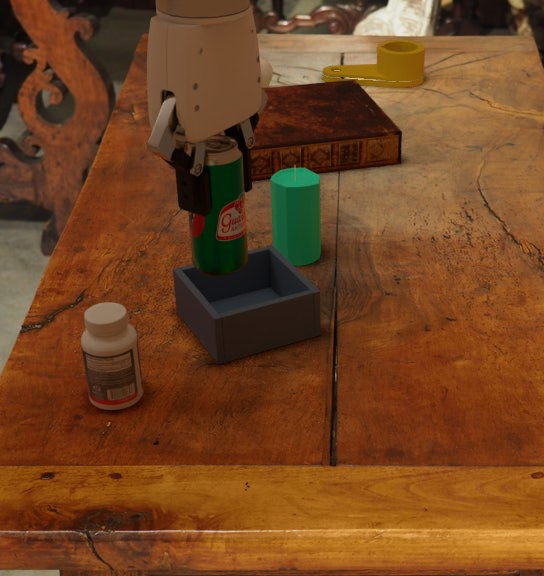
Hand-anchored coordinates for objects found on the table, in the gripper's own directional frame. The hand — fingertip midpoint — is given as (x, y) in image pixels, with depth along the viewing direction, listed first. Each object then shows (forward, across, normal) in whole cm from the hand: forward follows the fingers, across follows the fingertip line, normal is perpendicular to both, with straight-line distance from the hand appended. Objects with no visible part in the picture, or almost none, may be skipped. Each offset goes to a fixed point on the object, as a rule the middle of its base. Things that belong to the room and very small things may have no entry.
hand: (216, 197), depth 95 cm
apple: (+23, -73, -52) cm, 92 cm away
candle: (+23, -29, -12) cm, 39 cm away
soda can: (+7, 0, 0) cm, 7 cm away
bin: (+22, -13, -8) cm, 27 cm away
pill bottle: (+23, +5, -10) cm, 25 cm away
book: (+23, -58, -34) cm, 71 cm away
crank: (+23, -91, -39) cm, 101 cm away
